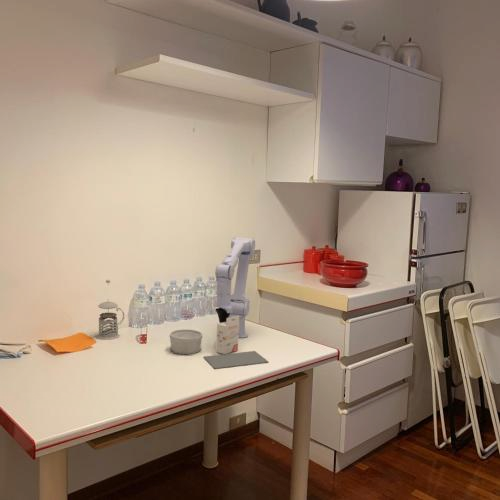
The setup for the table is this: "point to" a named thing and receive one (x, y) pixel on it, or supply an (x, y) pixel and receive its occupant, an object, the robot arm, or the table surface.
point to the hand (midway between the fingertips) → (222, 325)
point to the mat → (235, 359)
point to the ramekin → (185, 341)
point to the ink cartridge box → (227, 335)
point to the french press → (108, 321)
